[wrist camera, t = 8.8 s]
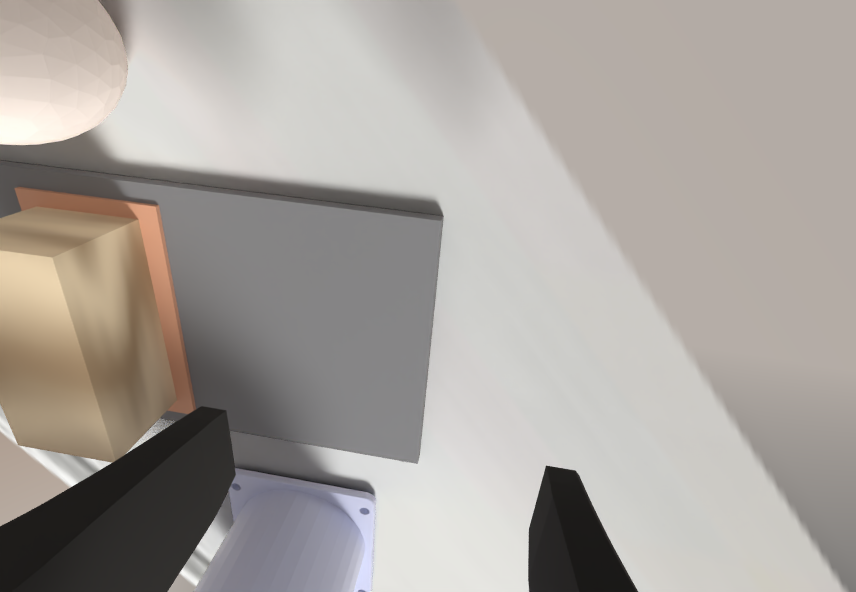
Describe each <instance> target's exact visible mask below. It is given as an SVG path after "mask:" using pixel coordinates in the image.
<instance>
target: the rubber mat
mask: <svg viewBox="0 0 856 592" xmlns="http://www.w3.org/2000/svg"><path fill="white" fill-rule="evenodd" d="M17 187H24V188H32V189H39V190H47V191H54V192H62V193H70V194H77V195H85V196H93V197H100V198H108V199H115V200H123V201H131V202H138V203H146V204H154V205H159V208H160V214H161V219H162V225H163V230H164V236H165V241H166V247H167V252H168V258H169V263H170V269H171V274H172V280H173V285H174V290H175V296H176V301H177V307H178V312H179V318H180V323H181V329H182V334H183V340H184V345H185V351H186V356H187V362H188V367H189V372H190V378H191V383H192V389H193V394H194V400H195V405H196V409H197V408H199V407H201V406H204V407H210V408H216V409H222V410H227V417H228V424H229V430H230V431H236V432H241V433H247V434H253V435H258V436H264V437H269V438H275V439H281V440H286V441H292V442H298V443H303V444H309V445H315V446H320V447H326V448H332V449H337V450H343V451H349V452H354V453H360V454H365V455H371V456H377V457H382V458H388V459H394V460H399V461H405V462H411V463H416V464H418V460H419V455H420V447H421V437H422V427H423V417H424V407H425V397H426V387H427V377H428V367H429V357H430V347H431V337H432V327H433V317H434V307H435V297H436V287H437V277H438V267H439V257H440V247H441V237H442V227H443V217H444V216H439V215H431V214H423V213H415V212H407V211H399V210H391V209H383V208H376V207H368V206H360V205H352V204H344V203H336V202H328V201H320V200H312V199H304V198H296V197H288V196H280V195H272V194H264V193H256V192H248V191H240V190H232V189H224V188H217V187H209V186H201V185H193V184H185V183H177V182H169V181H161V180H153V179H145V178H137V177H129V176H121V175H113V174H105V173H97V172H89V171H81V170H73V169H66V168H58V167H50V166H42V165H34V164H26V163H18V162H10V161H2V160H0V218H2V217H5V216H9V215H12V214H15V213H18V212H21V211H22V210H21V207H20V204H19V201H18V198H17V195H16V192H15V188H17ZM186 415H188V414H184V413H179V412H173V411H166V412H165V413H164V414H163V415H162V416H161V417H160V418H162V419H168V420H174V421H178V420H180V419H181V418H183V417H184V416H186Z"/></svg>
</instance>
